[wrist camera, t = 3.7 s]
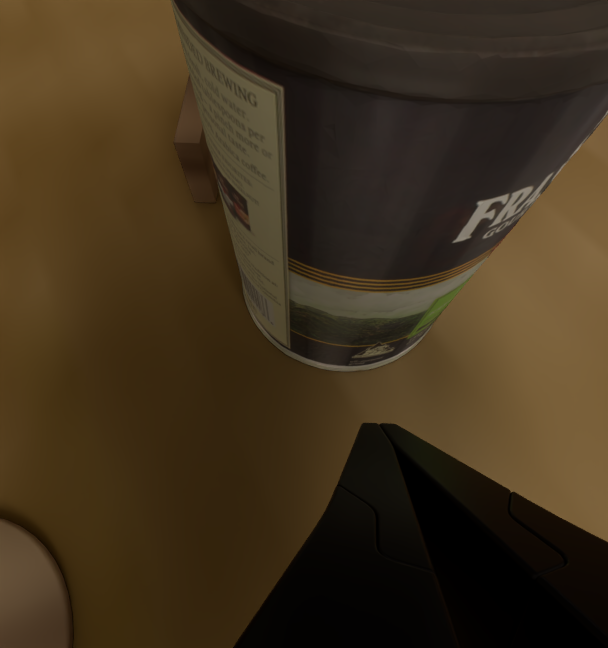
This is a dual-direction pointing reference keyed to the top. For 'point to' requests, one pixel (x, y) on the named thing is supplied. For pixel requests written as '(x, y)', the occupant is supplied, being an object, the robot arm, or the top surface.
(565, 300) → the top surface
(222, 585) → the top surface
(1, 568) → the cork mat
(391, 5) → the coffee can
